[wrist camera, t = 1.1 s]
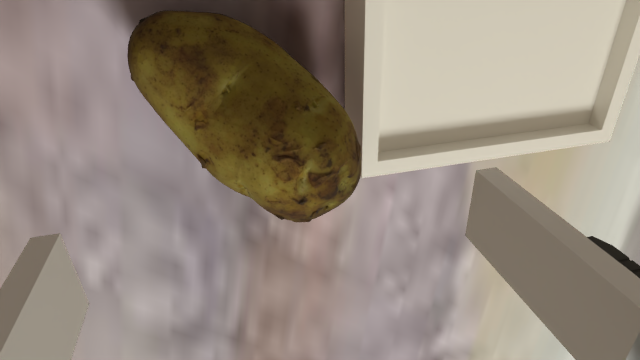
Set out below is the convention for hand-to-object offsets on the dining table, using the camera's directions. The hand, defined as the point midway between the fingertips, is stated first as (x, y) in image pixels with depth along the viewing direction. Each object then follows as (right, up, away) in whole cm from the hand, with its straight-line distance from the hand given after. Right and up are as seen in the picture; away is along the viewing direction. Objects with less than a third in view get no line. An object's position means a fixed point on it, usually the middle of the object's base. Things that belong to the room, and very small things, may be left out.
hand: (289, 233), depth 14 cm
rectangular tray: (+11, +13, +13) cm, 21 cm away
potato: (-3, +7, +12) cm, 14 cm away
